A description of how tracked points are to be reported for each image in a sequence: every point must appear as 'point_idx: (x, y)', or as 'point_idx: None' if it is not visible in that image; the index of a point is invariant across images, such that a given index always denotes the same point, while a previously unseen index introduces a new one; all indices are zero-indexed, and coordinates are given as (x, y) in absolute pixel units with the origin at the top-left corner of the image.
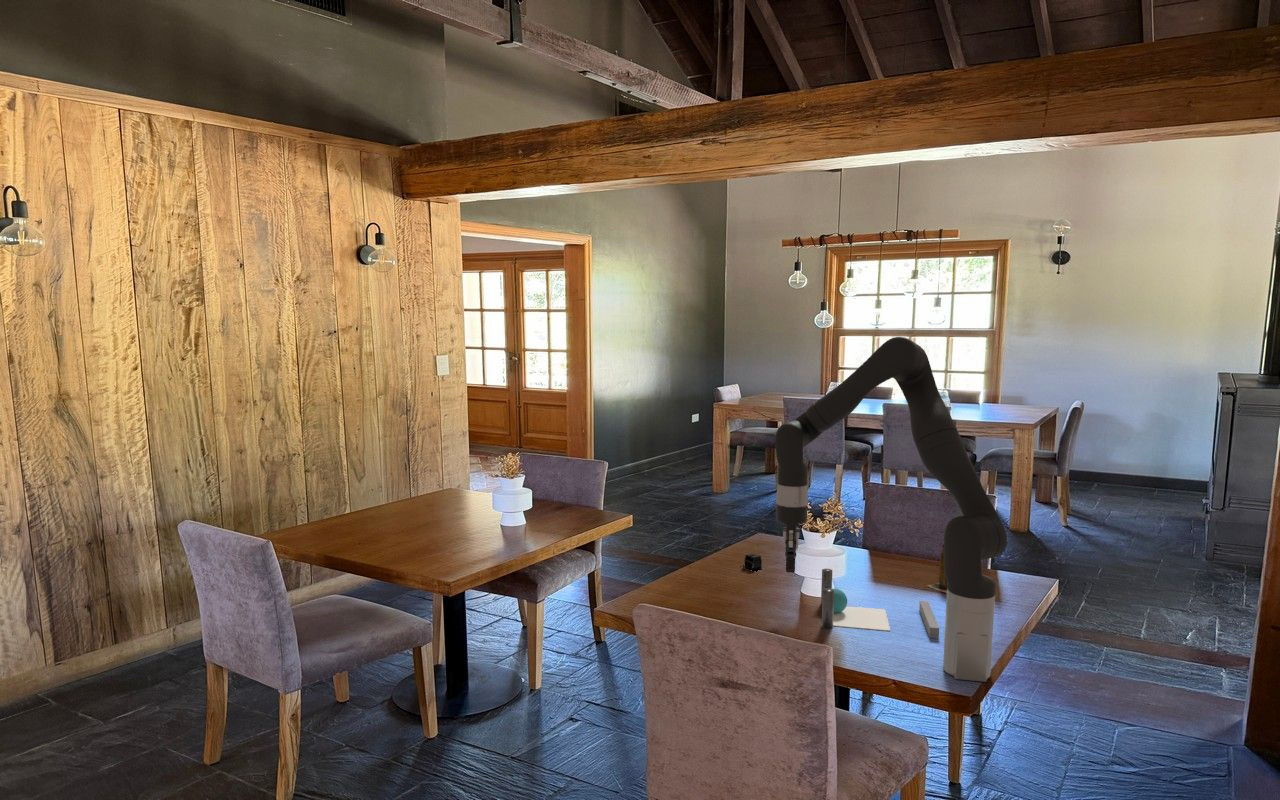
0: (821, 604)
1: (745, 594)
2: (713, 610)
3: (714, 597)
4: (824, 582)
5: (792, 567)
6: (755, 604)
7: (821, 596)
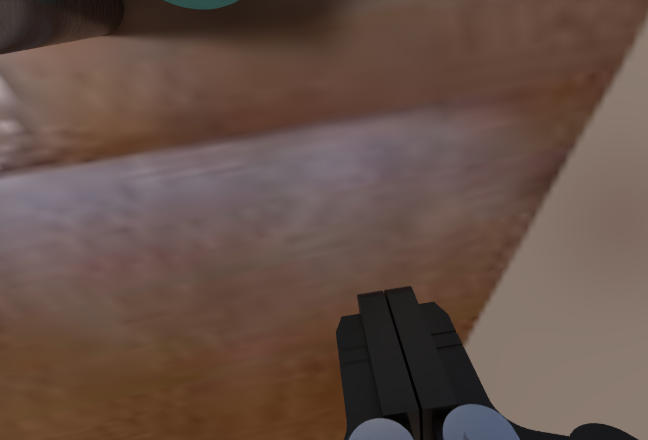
0: (115, 29)
1: (189, 355)
2: None
3: (275, 415)
4: (44, 18)
5: (455, 332)
6: (281, 305)
7: (92, 35)
